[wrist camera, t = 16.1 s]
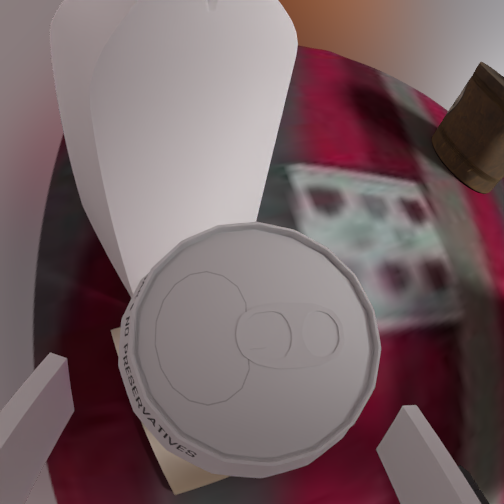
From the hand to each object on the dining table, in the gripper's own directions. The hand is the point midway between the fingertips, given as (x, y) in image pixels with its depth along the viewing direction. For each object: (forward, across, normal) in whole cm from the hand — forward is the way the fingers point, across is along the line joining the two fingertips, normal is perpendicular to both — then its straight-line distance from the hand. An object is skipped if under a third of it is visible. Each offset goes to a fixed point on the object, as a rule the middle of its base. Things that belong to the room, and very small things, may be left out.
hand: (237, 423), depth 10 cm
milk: (+20, +8, -3) cm, 21 cm away
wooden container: (+38, -37, -21) cm, 57 cm away
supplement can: (+10, 0, +6) cm, 11 cm away
